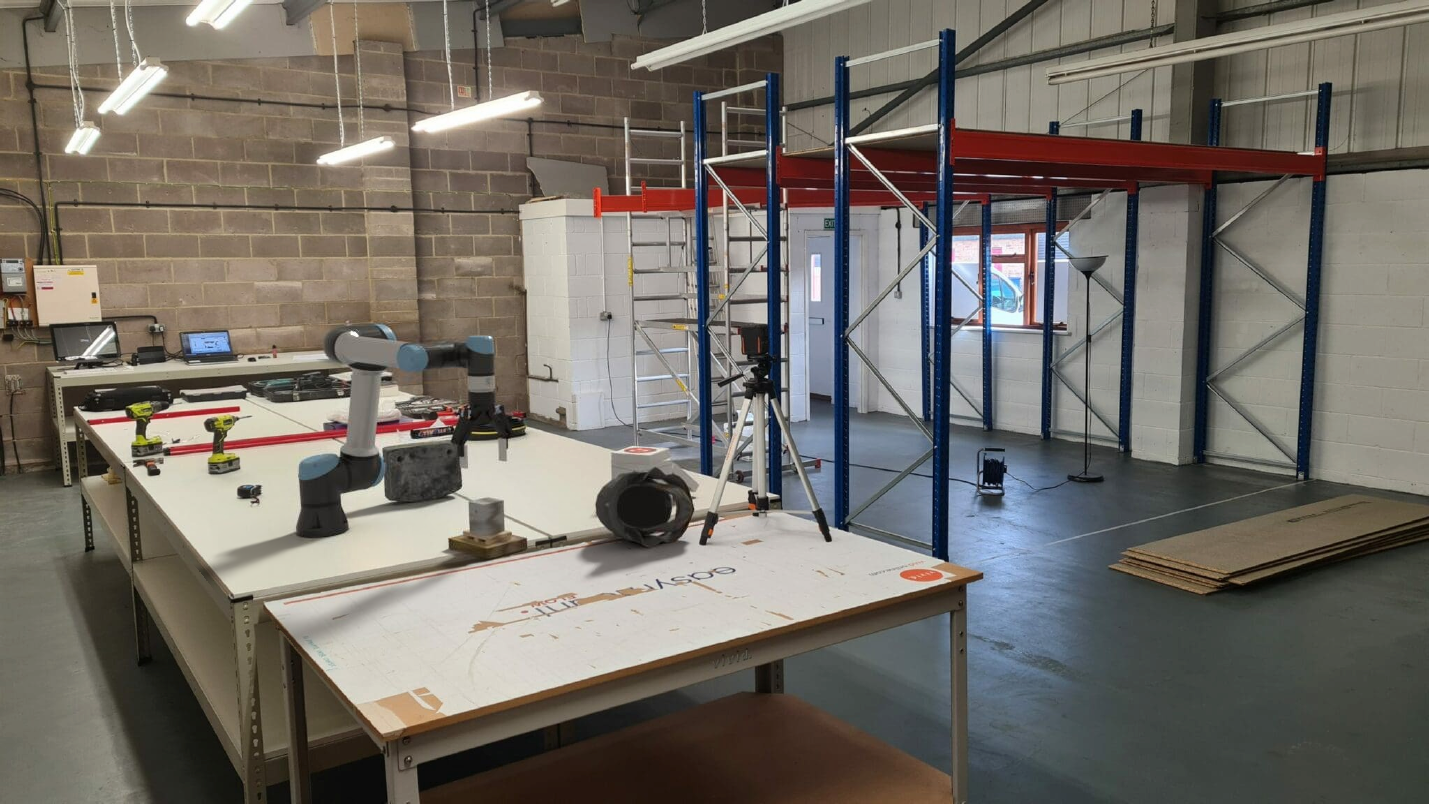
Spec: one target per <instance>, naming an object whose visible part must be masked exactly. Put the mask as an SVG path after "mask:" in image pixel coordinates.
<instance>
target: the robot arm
mask: <svg viewBox="0 0 1429 804" xmlns="http://www.w3.org/2000/svg"><path fill="white" fill-rule="evenodd" d="M322 348H323V353H324V354H325V356H326V357H327V358H328V359H329V360H330V361H332V362H334V363H336V364H339V365H341V364H343V365H347V367H348V368H349V369H350V370H351V371H352V373H351V374H352V375H351V384H350V395H349V396H350V397H349V407H348V408H349V409H348V419H347V427H346V428H347V430H346V441H345V443H344V444H343V445H341V447H340V450H339V455H338V454H336V453H323V454H315V455H312V456H309V457H306V458H304V459H302V460H301V461H300V462H299V464H298V474H297V478H298V484H299V486H298V487H299V500H300V511H299V513H298V518H297V521H296V526H295V533H296V536H299V537H303V538H319V537H320V538H321V537H322V538H323V537H330V536H335V535H339V534H342V533H345V532H347V531H349V520H348V518H347V516H346V513H345V511H344V509H343V506H342V498H341V497H342V494H343V495H345V494H347V493H348V494H349V493H353V492H358V491H363V490H364V491H365V490H368V489H370V488H374V487H376V486H378V485H379V484H380V483H381V482H382V481H383V480H384V474H385V462H383V461H384V458H383V454H381V452H380V450H379V448H378V447H377V446H376V444H375V443H376V434H377V423H378V414H379V404H380V395H381V394H380V392H381V383H382V375H383V373H385V372H386V371H387V370H388V367H389V368H390V367H391V368H397V369H401V370H402V371H403V372H405V373H419V372H424V371H425V372H427V371H436V370H446V369H466V370H467V390H469V391H468V392H467V397H468V398H467V399H468V400H467V401H468V402H467V403H468V405H469V408H468V409H462V408H461V409H459V415H458V416H459V417H458V420H457V422H456V425H455V428H454V431H453V434H452V436H451V438H450V440H451V443H453V444H456V445H457V453H458V456H459V457H460V468H461V469H469V458H468V457H469V456H468V454H469V452H468V445H467V444H466V443H467V441H468V439H470V437H471V435H472V433H473V432H474V430H475V428H476V427H477V426H479V424H480V425H481V424H484V423H486V424H488V423H489V424H490V425H491V426H492V428H493V430H495V432H496V433H497V434H498V435H499V436H500V437H499V438H497V440H498V441H497V442H498V443H497V445H498V461H500V462H507V461H508V458H507V456H508V452H507V450H508V449H509V439H511V436H514V434H515V432H514V430H513V428H512V425H511V423H510V421H509V418H508V417H507V415H506V411H505V406H504V405H502V404H496V391H495V389H496V380H495V379H496V374H495V367H496V366H495V351H496V350H495V342H494V338H493V336H491V335H482V334H481V335H469V336H467V337H466V341H457V340H456V341H455V340H443V341H440V342H431V343H416V342H406V341H400V340H399V341H398V340H397V338H396V335H395V334H394V332H393V331H392V329H391V328H390V327H388V326H387V325H385V324H382V323H365V324H351V325H339V326H336V327H334V328H332V329H330V330H329V331H328V332H327V333H326V334H325V336H324V337H323V341H322ZM495 414H496V416H495Z"/></svg>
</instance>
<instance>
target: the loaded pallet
mask: <svg viewBox="0 0 1429 804" xmlns="http://www.w3.org/2000/svg"><path fill="white" fill-rule="evenodd" d="M504 502H505V501H504V500H503V499H499V498H494V497H489V496H488V497H486V496H485V497H482V498H478V499H474V500H470V501H468V521H469V529H467V530H463V531H462V535H464V538H466V539H469V538H473V537H474V541H477V542H479V541H482V540H485V544H493V543H497V542H500V541H504V540H508V539H512V538H511V535H513V533H512V531H510V530H506V528H505V504H504Z"/></svg>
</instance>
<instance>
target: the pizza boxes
mask: <svg viewBox="0 0 1429 804" xmlns="http://www.w3.org/2000/svg"><path fill="white" fill-rule="evenodd" d="M670 451H671V449H670V448H669V447H654V446H653V447H651V446H640V445H639V446H638V445H637V446H635V445H631V446H629V447H624V448H622V449H619V450H615V451H612V452H610V454H611V457H610V458H611V460H610V463H611V464H610V467H611V468H610V469H611V474H610V475H611V480H613V479H615V478H617V476H618V475H619V474H621V473H624V472H633V471H636V472H647V471H649V470H650V469H652V468H654V467H657V468H659V469H660V470H661V471H662V472H663V473H664V474H665V475H668V474H675V475H677V476H680V477H681V478H682V479H683V480H684V481H685V483H686V484H687V486H688V488H689V490H690V493H691V492H692V493H696V492H697V490H698V489H699V487H700V484H699V483H698V482H697V481H696V480H695V479H694V478H693V477H691V476H690V475H689V474H688V473H687V472H686V471H685V470H684V469H682V467H681V466H679V464H677V463H676V462H673V460H672V459H671V452H670ZM653 480H654V481H656V482H658V483H663V484H667V483H665V482H664V481H663V480H661V479H660V480H658V479H653ZM669 495H670V497H671V499H672V503H673V498H674V497H673V496H672V495H671V494H669Z"/></svg>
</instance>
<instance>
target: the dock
mask: <svg viewBox="0 0 1429 804" xmlns="http://www.w3.org/2000/svg"><path fill="white" fill-rule="evenodd" d="M511 538H512V539H508V540H504V541H500V542H497V543H493V544H485V540H482V541H479V542H477V541H474V537H473V538H469V539H466V538H464V535H463V534H460V535H456V536H452V537H448V538H447V540H448V543H447V544H448V549H449V550H452V551H457V552H461V553H464V554H467V555H470V556H475V557H478V558H482V559H485V560H490V559H494V558H498V557H501V556H504V555H509V554H513V553H516V552H520V551H523V550H525V549H528V537H524V536H519V535H515V534H512V535H511Z"/></svg>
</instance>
